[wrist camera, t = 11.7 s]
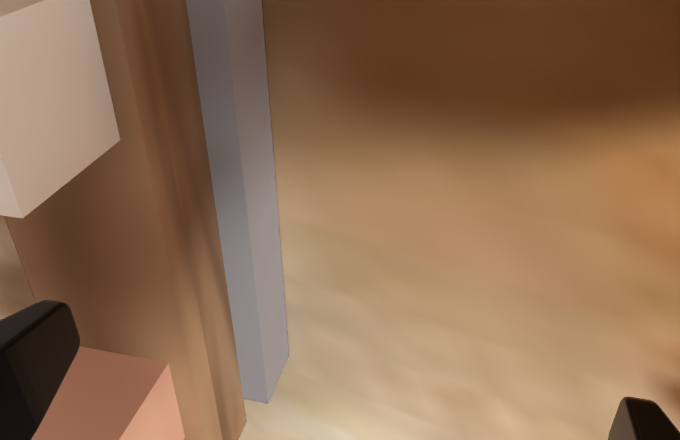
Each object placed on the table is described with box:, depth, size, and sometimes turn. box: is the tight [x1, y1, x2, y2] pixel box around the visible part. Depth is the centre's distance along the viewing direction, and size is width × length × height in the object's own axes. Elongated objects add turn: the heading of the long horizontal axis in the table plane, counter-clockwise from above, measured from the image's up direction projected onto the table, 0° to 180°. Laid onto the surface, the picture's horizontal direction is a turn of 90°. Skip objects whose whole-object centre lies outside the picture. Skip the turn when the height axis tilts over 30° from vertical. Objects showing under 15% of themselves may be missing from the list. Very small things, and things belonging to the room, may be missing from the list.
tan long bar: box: [4, 0, 247, 440], centre depth 20 cm, size 6×23×4 cm, turn 0°
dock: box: [186, 0, 289, 403], centre depth 23 cm, size 8×20×3 cm, turn 0°
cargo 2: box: [31, 347, 185, 440], centre depth 21 cm, size 4×4×4 cm
